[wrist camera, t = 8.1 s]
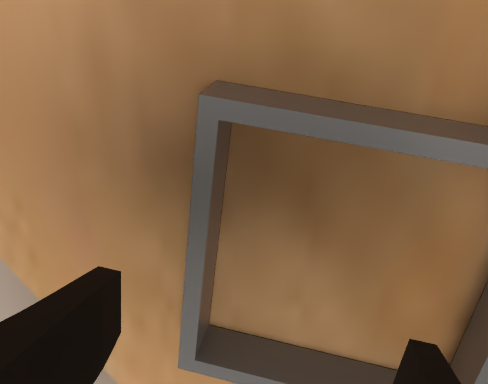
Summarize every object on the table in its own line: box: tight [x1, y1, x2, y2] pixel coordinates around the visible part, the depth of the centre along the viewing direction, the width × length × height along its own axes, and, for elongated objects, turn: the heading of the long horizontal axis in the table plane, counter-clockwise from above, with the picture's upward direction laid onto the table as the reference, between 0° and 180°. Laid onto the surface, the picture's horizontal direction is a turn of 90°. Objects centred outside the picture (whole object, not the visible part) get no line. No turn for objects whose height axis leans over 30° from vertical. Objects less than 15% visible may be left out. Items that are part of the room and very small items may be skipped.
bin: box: [178, 81, 488, 384], centre depth 19 cm, size 14×14×2 cm
